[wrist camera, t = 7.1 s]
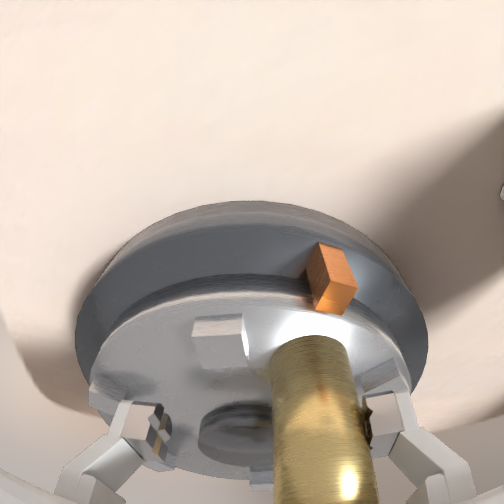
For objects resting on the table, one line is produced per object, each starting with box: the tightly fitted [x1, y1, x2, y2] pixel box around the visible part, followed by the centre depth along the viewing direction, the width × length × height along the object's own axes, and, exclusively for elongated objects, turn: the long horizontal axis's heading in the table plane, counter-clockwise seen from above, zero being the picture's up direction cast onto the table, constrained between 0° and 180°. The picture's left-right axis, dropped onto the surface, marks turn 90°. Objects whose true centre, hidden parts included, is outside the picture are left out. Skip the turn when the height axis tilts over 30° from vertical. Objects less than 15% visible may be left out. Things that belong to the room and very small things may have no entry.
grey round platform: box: [75, 201, 428, 393], centre depth 17 cm, size 20×20×6 cm
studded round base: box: [88, 273, 412, 504], centre depth 13 cm, size 17×17×9 cm
